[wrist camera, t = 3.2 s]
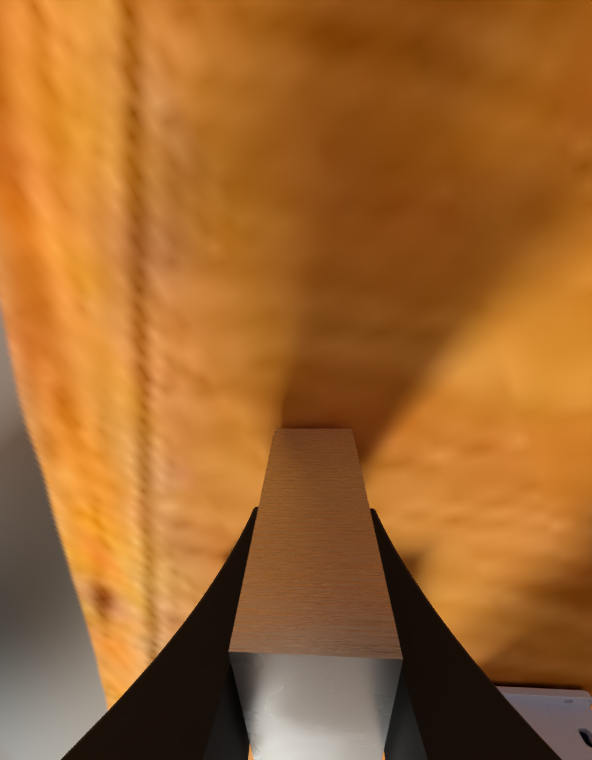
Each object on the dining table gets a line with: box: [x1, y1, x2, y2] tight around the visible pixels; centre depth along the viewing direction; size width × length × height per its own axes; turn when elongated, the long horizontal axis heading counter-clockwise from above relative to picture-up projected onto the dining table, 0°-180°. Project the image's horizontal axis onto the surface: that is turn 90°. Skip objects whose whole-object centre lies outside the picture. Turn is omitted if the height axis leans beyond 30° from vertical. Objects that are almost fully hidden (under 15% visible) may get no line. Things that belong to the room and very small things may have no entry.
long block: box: [228, 429, 403, 760], centre depth 9 cm, size 3×6×7 cm, turn 2°
